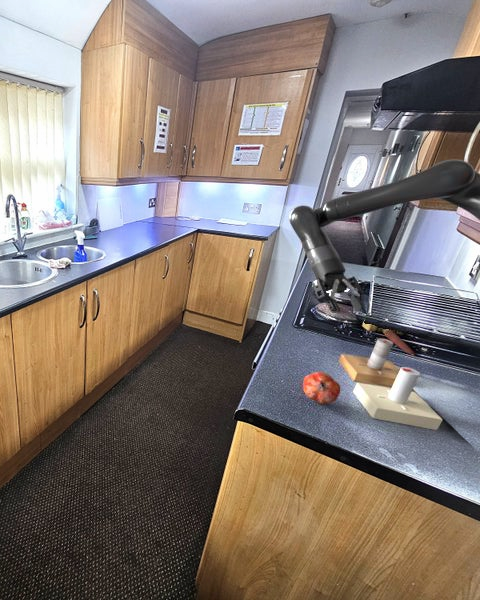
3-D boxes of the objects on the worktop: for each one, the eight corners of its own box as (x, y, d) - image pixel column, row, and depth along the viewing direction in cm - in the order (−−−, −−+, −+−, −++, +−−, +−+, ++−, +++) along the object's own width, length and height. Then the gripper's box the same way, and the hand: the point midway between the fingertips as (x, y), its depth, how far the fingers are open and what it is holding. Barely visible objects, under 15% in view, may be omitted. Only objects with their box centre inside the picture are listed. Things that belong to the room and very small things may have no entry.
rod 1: (368, 362, 92) (379, 336, 89) (383, 367, 89) (395, 340, 86) (365, 366, 90) (376, 339, 87) (380, 371, 88) (392, 344, 84)
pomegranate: (299, 393, 87) (292, 386, 80) (316, 370, 86) (310, 362, 79) (330, 412, 81) (325, 407, 74) (348, 388, 80) (345, 381, 74)
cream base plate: (409, 401, 81) (415, 391, 80) (437, 430, 72) (443, 419, 71) (352, 391, 84) (357, 381, 83) (372, 418, 75) (377, 407, 74)
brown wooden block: (386, 370, 94) (390, 360, 92) (407, 391, 85) (412, 381, 84) (338, 362, 97) (341, 353, 96) (353, 382, 88) (357, 372, 87)
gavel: (439, 356, 95) (398, 351, 98) (432, 368, 97) (391, 363, 100) (399, 320, 113) (365, 316, 115) (394, 331, 115) (360, 327, 117)
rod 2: (401, 396, 78) (415, 367, 75) (409, 405, 75) (424, 375, 72) (384, 393, 79) (398, 364, 76) (392, 402, 76) (406, 372, 73)
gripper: (316, 257, 97) (339, 308, 91) (354, 255, 100) (379, 304, 94) (296, 269, 104) (317, 317, 98) (333, 267, 107) (355, 313, 101)
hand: (348, 311), depth 96 cm, fingers open, 8 cm apart
